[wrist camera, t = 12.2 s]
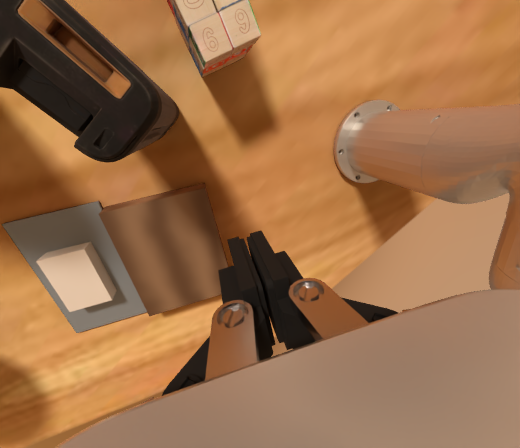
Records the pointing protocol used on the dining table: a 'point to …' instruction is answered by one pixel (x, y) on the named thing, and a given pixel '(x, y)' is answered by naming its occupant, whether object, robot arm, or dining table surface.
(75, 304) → the tile
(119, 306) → the mat
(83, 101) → the electronic device
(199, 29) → the stack of blocks
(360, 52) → the dining table surface
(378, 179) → the robot arm
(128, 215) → the plate
